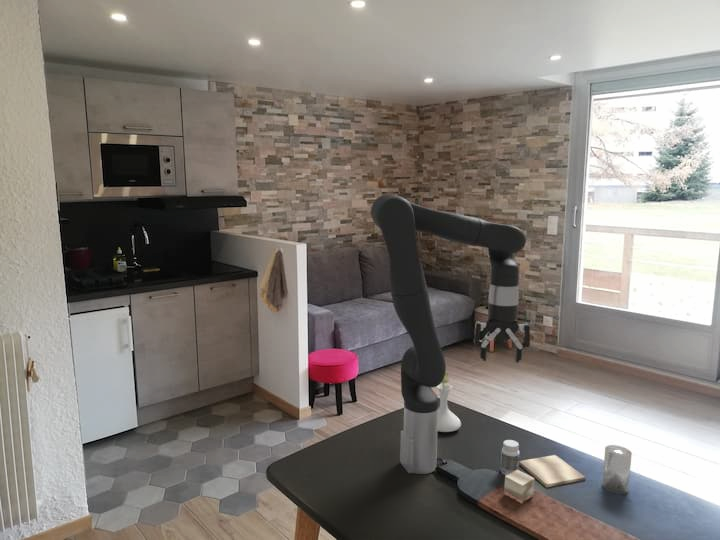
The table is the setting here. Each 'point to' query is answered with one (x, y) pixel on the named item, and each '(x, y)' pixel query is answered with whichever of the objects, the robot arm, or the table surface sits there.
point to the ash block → (519, 484)
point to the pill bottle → (510, 457)
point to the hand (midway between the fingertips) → (500, 360)
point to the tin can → (616, 469)
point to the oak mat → (551, 470)
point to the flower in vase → (446, 409)
